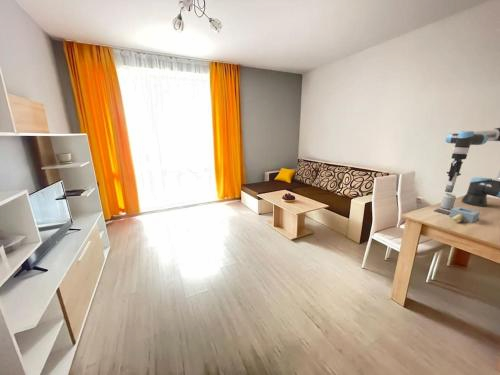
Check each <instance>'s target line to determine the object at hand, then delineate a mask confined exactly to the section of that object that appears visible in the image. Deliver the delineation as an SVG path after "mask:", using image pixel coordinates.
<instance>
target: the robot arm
mask: <svg viewBox="0 0 500 375" xmlns="http://www.w3.org/2000/svg"><path fill="white" fill-rule="evenodd" d="M445 142H446V143H448V144H454V146H453V148H452V150H453V151H452V152H453V153H452V154H451V159H453V161H452V162H451V163H450V168H449V171H448V172H449V174H448V175H447V176H448V179H447V181H446V182H447V183H446V186H447V185H451V186H452V183H453V180H454V175H455V172H457V173H460V171H461V169H462V164H463V163H464V161H462V160H466V159H467V156H468V153H469V151H470V147H471V146H481V145H485V144H486V143H487V142H500V127H494V128H489V129H487V130H480V131H471V130H470V131H469V130H465V131H464V130H460V131H459V132H458V133H449V134H447V135H446V137H445ZM497 174H498V175H497V176H496V178H490V177H472V179H470V182H469V185H468V189H467V192H466V193H465V195H464V196H463V197H462V198H461V202H462V203H464V204H467V205H469V206H470V205H471V206H476V207H487V205H488V199H487V196H492V197H495V198H499V199H500V171H499V172H498V173H497ZM459 176H460V175H457V177H459Z"/></svg>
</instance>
